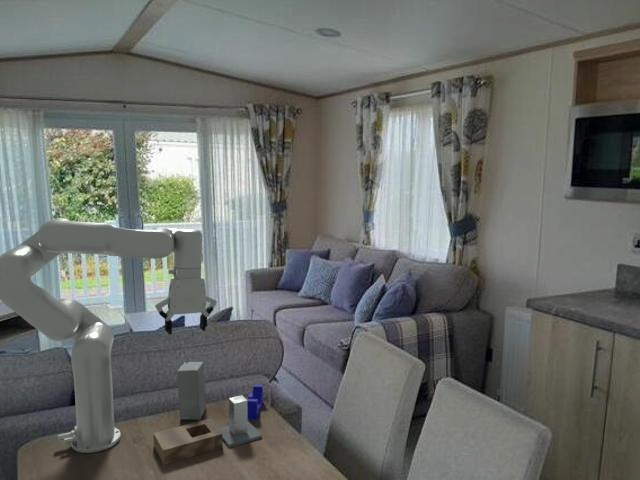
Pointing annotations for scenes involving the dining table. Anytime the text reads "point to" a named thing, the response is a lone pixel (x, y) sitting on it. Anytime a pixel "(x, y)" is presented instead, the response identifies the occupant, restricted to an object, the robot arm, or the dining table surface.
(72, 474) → the dining table surface
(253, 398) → the cable clip
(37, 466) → the dining table surface
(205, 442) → the wooden block with hole
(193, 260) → the robot arm
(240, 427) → the steel bar
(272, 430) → the dining table surface
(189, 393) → the skincare box
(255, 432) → the rubber mat
